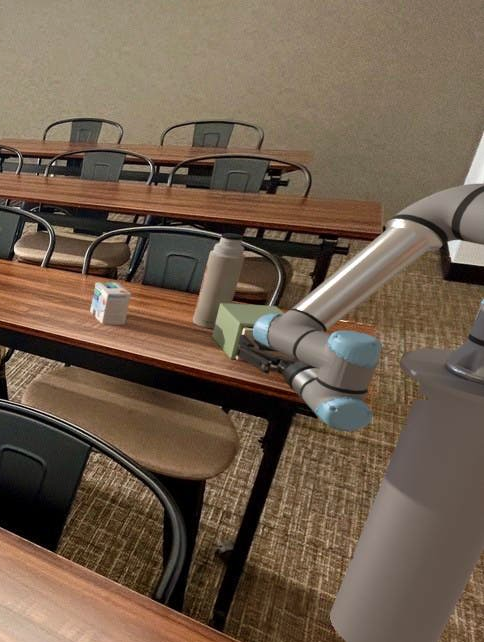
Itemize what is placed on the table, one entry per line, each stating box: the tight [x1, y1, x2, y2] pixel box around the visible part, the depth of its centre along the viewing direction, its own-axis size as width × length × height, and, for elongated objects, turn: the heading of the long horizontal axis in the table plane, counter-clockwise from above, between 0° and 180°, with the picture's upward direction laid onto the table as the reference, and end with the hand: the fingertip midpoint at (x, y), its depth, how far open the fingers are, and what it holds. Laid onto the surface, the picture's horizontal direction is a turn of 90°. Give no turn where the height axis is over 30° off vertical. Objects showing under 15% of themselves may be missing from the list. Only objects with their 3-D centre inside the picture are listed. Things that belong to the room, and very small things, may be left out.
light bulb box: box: [89, 281, 132, 326], centre depth 181 cm, size 11×7×11 cm, turn 169°
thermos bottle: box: [192, 232, 246, 330], centre depth 169 cm, size 8×8×28 cm
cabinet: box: [211, 303, 286, 360], centre depth 156 cm, size 15×13×11 cm
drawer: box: [235, 326, 295, 362], centre depth 152 cm, size 18×11×9 cm, turn 159°
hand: (270, 341), depth 147 cm, fingers closed on drawer, 11 cm apart
